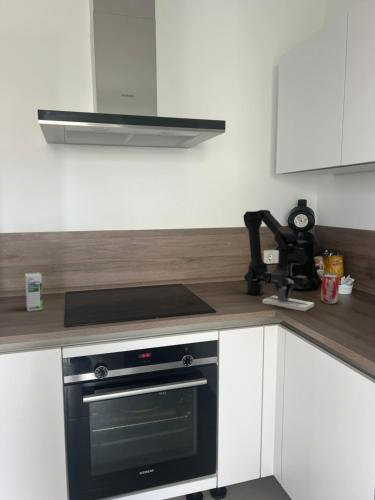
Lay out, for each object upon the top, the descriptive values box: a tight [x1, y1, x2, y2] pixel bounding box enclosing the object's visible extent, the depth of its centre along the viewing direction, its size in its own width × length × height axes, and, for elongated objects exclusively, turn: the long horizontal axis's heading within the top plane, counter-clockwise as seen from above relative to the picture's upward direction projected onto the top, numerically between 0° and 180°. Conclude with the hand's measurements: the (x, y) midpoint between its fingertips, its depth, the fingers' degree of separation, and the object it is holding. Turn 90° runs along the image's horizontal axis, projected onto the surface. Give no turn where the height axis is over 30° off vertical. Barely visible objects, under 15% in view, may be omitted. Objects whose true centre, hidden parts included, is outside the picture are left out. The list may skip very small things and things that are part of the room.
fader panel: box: [262, 295, 315, 312], centre depth 166 cm, size 19×10×2 cm, turn 50°
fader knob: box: [277, 285, 290, 301], centre depth 167 cm, size 3×5×5 cm, turn 140°
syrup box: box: [24, 272, 44, 312], centre depth 155 cm, size 6×6×14 cm
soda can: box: [320, 274, 340, 305], centre depth 170 cm, size 7×7×12 cm
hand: (283, 297), depth 167 cm, fingers closed on fader knob, 3 cm apart
